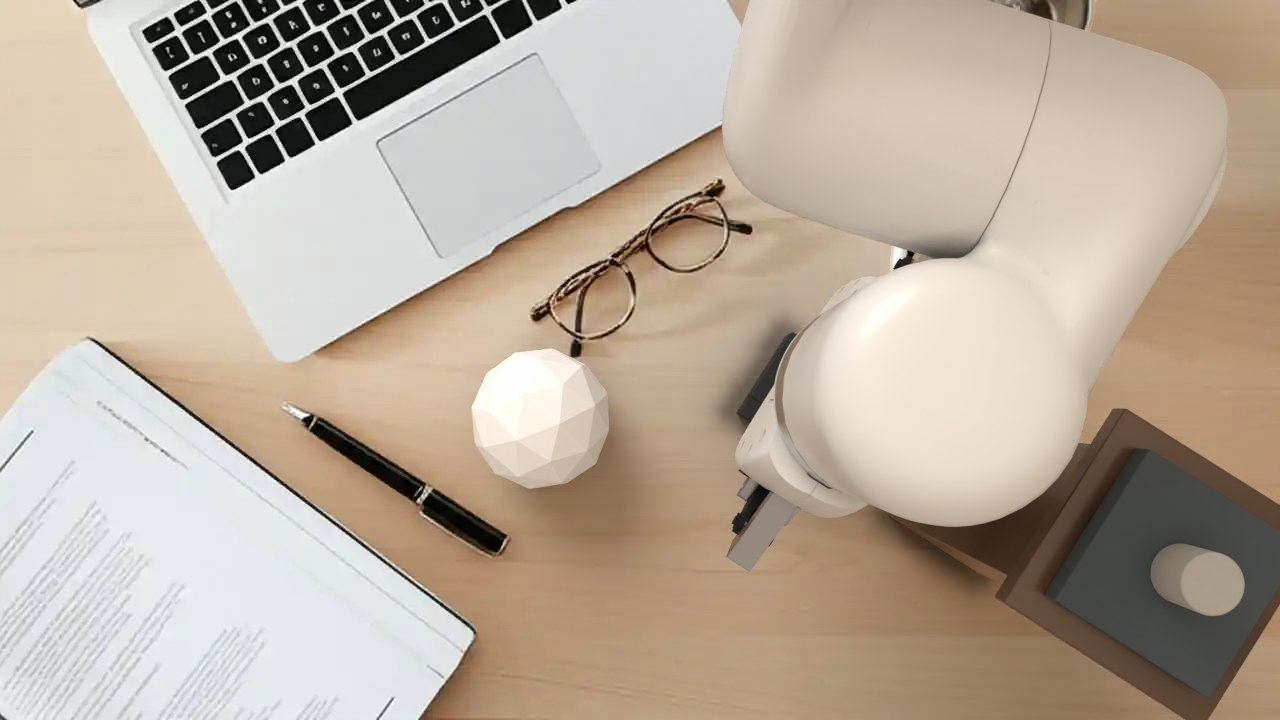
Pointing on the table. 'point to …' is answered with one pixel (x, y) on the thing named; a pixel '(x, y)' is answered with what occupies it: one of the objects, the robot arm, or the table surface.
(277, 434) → the table surface
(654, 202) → the table surface
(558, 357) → the geometric ball
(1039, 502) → the stand
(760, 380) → the dark grey square frame
